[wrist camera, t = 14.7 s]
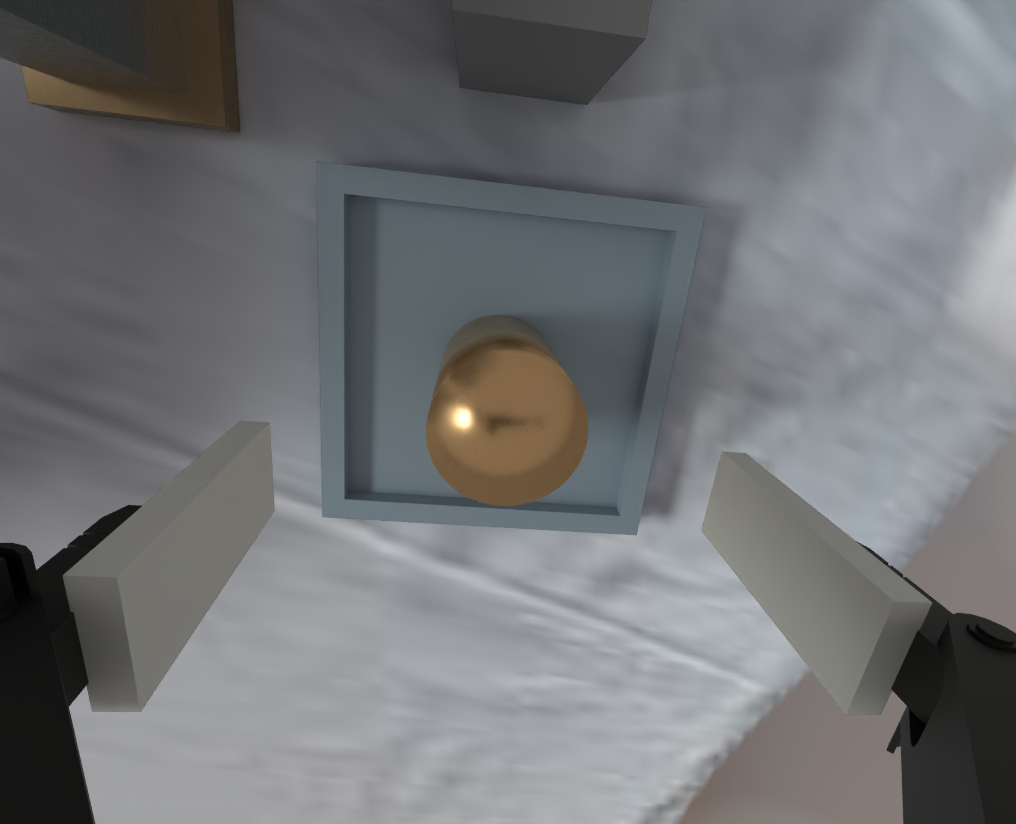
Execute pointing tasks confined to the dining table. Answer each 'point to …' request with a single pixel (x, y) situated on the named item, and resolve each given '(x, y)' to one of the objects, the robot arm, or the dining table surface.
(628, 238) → the slate tray
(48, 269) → the dining table surface
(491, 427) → the copper cylinder
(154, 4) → the box
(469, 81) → the charcoal block
